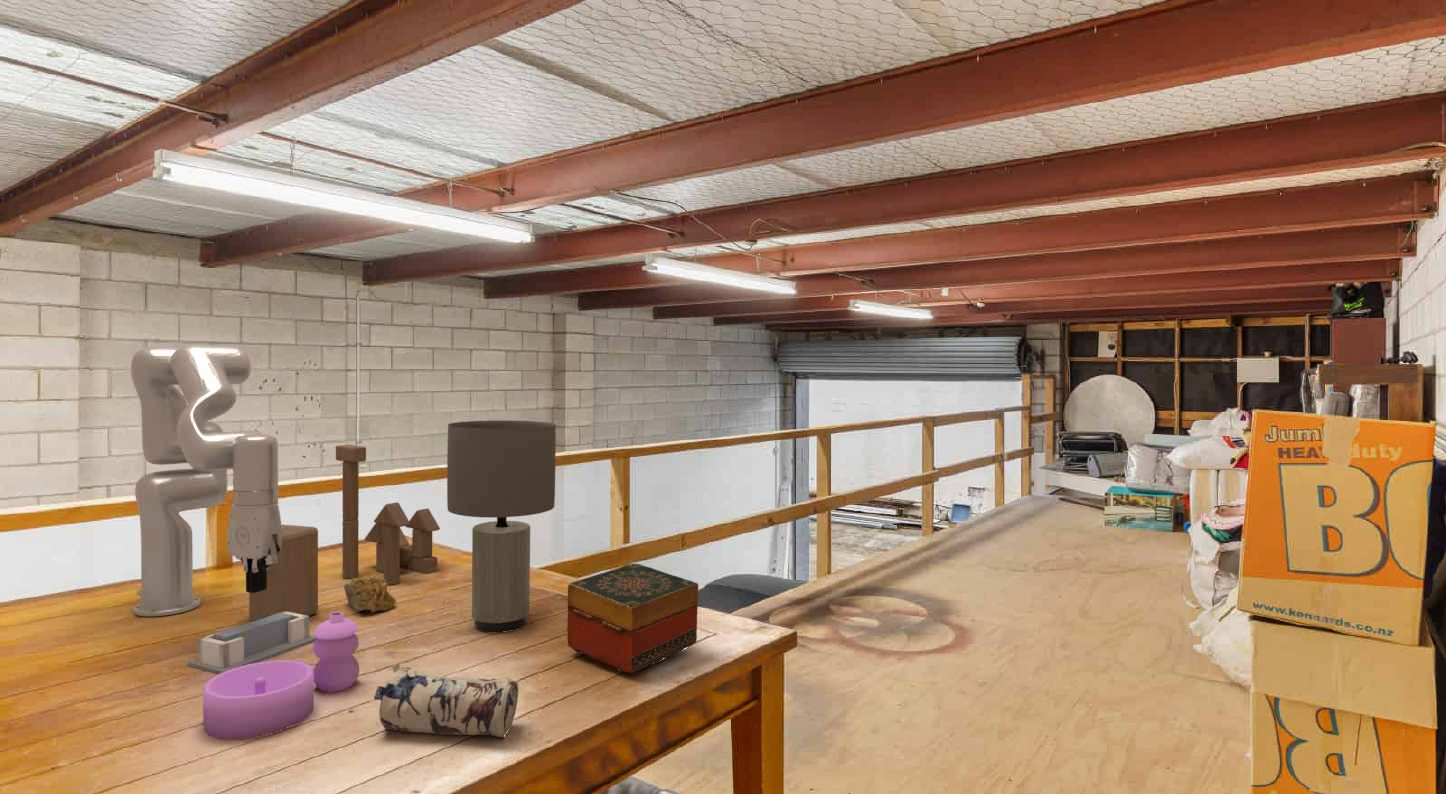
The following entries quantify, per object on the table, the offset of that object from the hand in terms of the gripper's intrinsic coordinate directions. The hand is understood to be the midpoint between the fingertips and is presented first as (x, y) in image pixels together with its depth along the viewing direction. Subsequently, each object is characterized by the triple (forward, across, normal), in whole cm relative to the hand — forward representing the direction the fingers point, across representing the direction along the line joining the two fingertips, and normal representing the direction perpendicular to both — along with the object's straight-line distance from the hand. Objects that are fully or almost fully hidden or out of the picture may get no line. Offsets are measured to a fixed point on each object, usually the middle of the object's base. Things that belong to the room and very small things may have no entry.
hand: (256, 590), depth 151 cm
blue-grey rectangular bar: (+12, 0, 0) cm, 12 cm away
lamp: (+13, +32, +34) cm, 48 cm away
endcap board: (+12, 0, 0) cm, 12 cm away
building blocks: (+12, -20, +52) cm, 57 cm away
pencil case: (+13, +57, -9) cm, 59 cm away
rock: (+12, -3, +30) cm, 33 cm away
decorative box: (+13, +67, +31) cm, 75 cm away
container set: (+13, +26, -13) cm, 32 cm away
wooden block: (+12, -13, +16) cm, 24 cm away
